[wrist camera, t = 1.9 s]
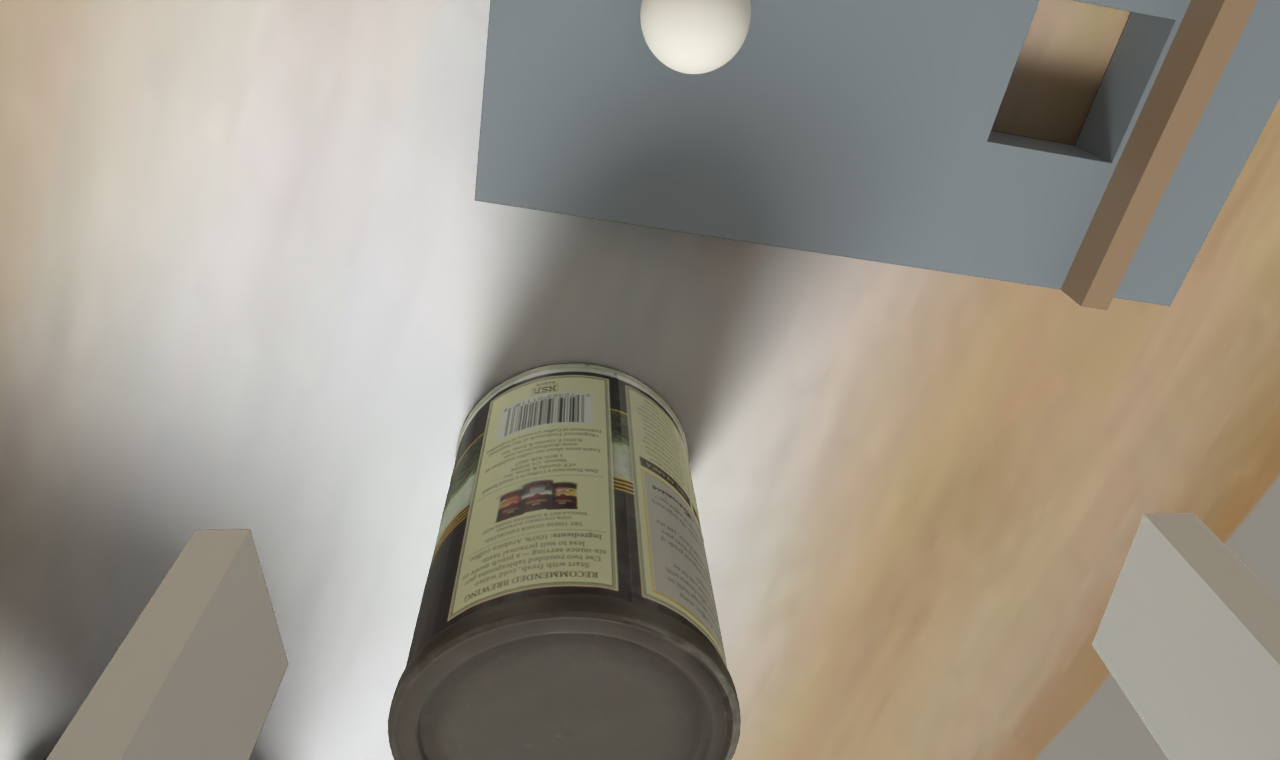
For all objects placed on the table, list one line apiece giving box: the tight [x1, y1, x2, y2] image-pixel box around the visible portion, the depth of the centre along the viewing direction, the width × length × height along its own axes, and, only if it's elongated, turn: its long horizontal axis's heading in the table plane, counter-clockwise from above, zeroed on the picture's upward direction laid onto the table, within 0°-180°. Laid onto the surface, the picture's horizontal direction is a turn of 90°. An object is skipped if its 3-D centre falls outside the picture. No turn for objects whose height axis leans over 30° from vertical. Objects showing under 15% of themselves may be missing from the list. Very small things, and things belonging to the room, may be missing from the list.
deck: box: [475, 0, 1280, 310], centre depth 27 cm, size 26×14×4 cm, turn 80°
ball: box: [640, 0, 751, 74], centre depth 24 cm, size 3×3×3 cm
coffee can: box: [388, 363, 740, 760], centre depth 30 cm, size 10×10×14 cm
